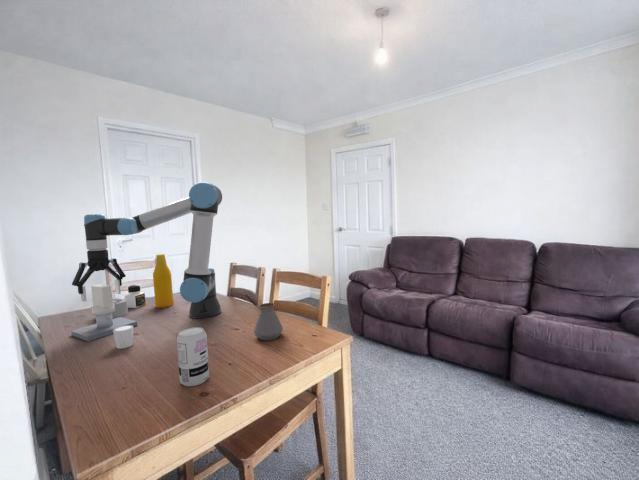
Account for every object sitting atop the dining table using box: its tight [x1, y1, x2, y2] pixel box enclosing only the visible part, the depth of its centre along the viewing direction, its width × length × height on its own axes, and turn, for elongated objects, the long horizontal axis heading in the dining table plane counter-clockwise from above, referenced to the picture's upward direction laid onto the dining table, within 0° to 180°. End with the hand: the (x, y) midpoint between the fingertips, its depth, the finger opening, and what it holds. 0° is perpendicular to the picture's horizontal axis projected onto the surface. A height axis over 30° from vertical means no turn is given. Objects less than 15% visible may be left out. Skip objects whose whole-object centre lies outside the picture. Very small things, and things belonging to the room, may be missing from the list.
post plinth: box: [70, 312, 138, 342], centre depth 141 cm, size 15×20×8 cm
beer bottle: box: [152, 253, 174, 309], centre depth 177 cm, size 9×9×29 cm
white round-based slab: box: [90, 283, 115, 316], centre depth 140 cm, size 12×8×12 cm
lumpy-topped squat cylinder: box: [112, 297, 129, 319], centre depth 162 cm, size 10×13×9 cm
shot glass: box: [113, 325, 134, 349], centre depth 122 cm, size 7×7×7 cm
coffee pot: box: [242, 294, 284, 341], centre depth 128 cm, size 21×12×15 cm, turn 46°
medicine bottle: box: [124, 284, 146, 309], centre depth 179 cm, size 7×7×12 cm
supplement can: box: [175, 326, 210, 387], centre depth 93 cm, size 8×8×15 cm
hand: (101, 297), depth 140 cm, fingers open, 13 cm apart
